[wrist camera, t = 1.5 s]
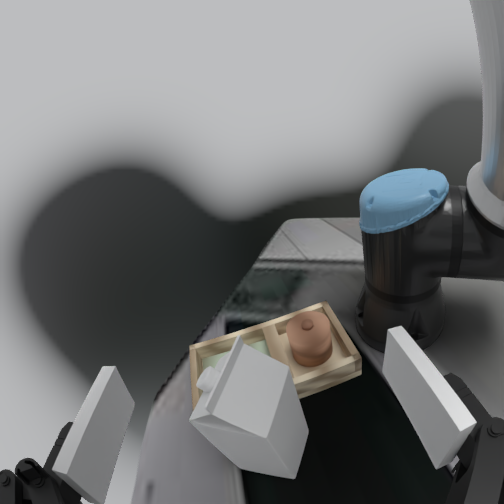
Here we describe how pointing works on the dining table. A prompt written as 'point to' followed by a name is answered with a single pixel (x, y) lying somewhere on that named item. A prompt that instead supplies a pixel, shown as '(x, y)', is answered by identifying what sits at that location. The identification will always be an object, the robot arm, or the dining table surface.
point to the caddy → (290, 349)
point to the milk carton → (252, 412)
